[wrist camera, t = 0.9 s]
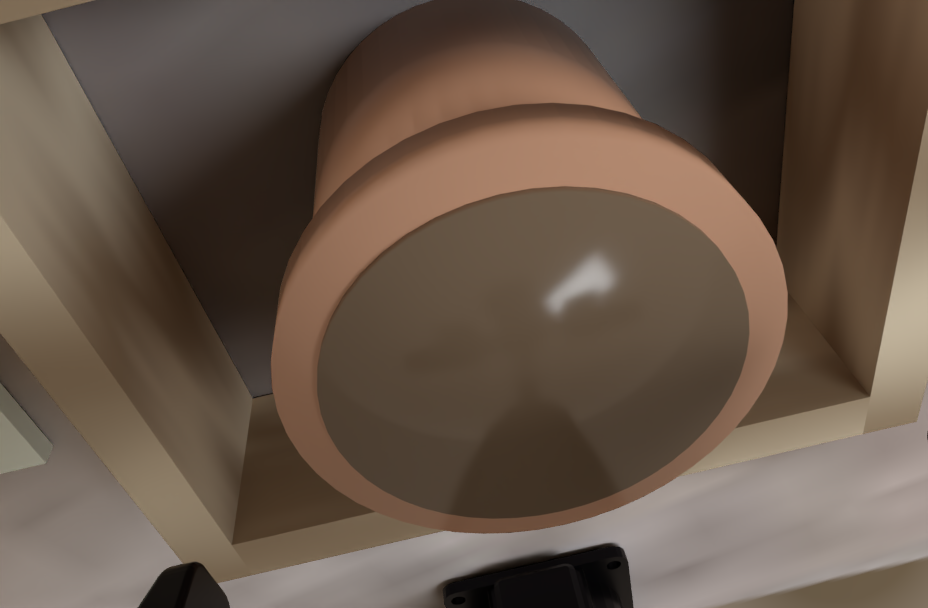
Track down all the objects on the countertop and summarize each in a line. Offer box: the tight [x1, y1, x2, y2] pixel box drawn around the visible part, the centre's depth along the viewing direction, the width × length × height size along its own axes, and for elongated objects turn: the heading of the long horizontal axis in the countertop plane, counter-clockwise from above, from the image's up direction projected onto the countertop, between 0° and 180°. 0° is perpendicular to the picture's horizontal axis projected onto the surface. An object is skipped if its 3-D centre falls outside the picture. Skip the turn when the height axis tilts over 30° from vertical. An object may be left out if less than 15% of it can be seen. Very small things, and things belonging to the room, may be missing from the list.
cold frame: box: [0, 0, 928, 583], centre depth 14 cm, size 13×16×4 cm
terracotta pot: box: [271, 0, 788, 533], centre depth 13 cm, size 7×7×7 cm
